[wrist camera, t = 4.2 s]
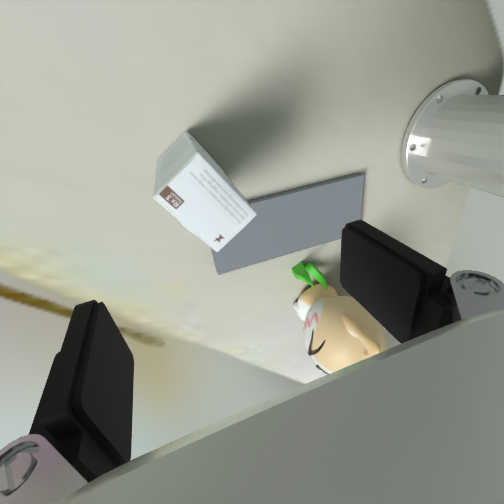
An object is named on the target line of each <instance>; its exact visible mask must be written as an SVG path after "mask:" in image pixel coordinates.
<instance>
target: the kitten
mask: <svg viewBox="0 0 504 504" xmlns="http://www.w3.org/2000/svg"><path fill="white" fill-rule="evenodd" d="M292 271H293V274H294V276H295V277H296V278H297V279H301V280H303V281H305V282H306V283H308V284H309V285H311V286H312V287H310V288H309V289H307V290H306V291H304V292H303V293H302V294H301V295H300V297H299V299H298V302H295V303H294V304H293V307H294V309H295V310H296V312H297V315H298V316H299V317H300V318H301V319H302V320H303V321H305V322H304V329H303V336H304V342H305V346H306V348H307V351H308V354H309V355H310V356H311V357H312V359H313V360H314V361H315V362H316V363H317V364H318V365H316V367H317V368H318V369H320V370H322V371H323V372H324V373H326V374H331V373H333V372H335V371H338V370H340V369H343V368H345V367H347V366H350V365H352V364H354V363H357V362H359V361H361V360H364V359H366V358H369V357H371V356H373V355H376V354H378V353H381V352H383V351H385V350H388V342H387V336H386V333H385V330H384V327H383V326H382V325H381V324H380V323H379V322H378V321H377V320H376V319H375V318H374V317H373V316H372V315H371V314H370V313H369V312H368V311H367V310H366V309H365V308H364V307H363V306H362V305H360V304H359V303H358V302H357V301H356V300H355V299H354V298H353V297H349V296H338V294H337V292H336V290H335V289H334V288H333V287H331V286H330V285H327V281H326V278H325V277H324V275H323V274H322V273H321V272H320V271H319V270H318V269H317V267H316V266H315V265H313V264H312V263H309V262H308V263H307V264H306V265H305V267H304V266H303V263H302V261H301V262H300V263H299V264H298V265H297V266H295V267H294V268H292ZM308 273H309V274H310V275H311V276H313V277H314V278H315V279H316V280H317V281H318V282H319V283H320V284H316V285H313V283H312V281H311V278H310V276H309V274H308Z"/></svg>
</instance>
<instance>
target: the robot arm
mask: <svg viewBox="0 0 504 504" xmlns="http://www.w3.org/2000/svg"><path fill="white" fill-rule="evenodd" d="M401 160H402V166H403V169H404V172H405V175H406V176H407V177H408V179H409V180H410V181H411V182H413V183H414V184H416V185H419V186H422V187H426V188H435V187H439V186H442V185H444V184H446V183H448V182H453V183H456V184H459V185H463V186H466V187H470V188H473V189H477V190H480V191H484V192H487V193H490V194H494V195H497V196H500V197H504V95H489V94H488V91H487V90H486V88H485V87H484V86H483V85H482V84H481V83H479V82H478V81H475V80H471V79H464V80H455V81H451V82H449V83H446V84H444V85H442V86H441V87H439V88H438V89H436V90H435V91H434V92H432V93H431V94H430V95H429V96H428V97H427V98H426V99H425V100H424V102H423V103H422V104H421V105H420V107H419V108H418V109H417V111H416V112H415V114H414V116H413V117H412V119H411V121H410V123H409V126H408V128H407V130H406V133H405V136H404V140H403V145H402V158H401ZM446 271H447V269H446V268H445V267H443V266H441V265H439V264H438V263H436V262H434V261H432V260H431V259H429V258H427V257H425V256H424V255H422V254H420V253H418V252H417V251H415V250H413V249H411V248H410V247H408V246H406V245H404V244H403V243H401V242H399V241H397V240H396V239H394V238H392V237H390V236H389V235H387V234H385V233H383V232H382V231H380V230H378V229H376V228H375V227H373V226H371V225H369V224H368V223H366V222H364V221H363V220H356V221H353V222H350V223H347V224H346V225H345V228H343V229H342V240H341V267H340V282H341V285H342V287H343V288H344V289H345V290H346V291H347V292H348V293H349V294H350V295H351V296H352V297H353V298H354V299H355V300H356V301H357V302H358V303H359V304H360V305H362V306H363V307H364V308H365V309H366V310H367V311H368V312H369V313H370V314H371V315H372V316H373V317H374V318H375V319H376V320H377V321H378V322H379V323H380V324H381V325H382V326H383V327H384V328H385V329H386V330H388V331H389V332H390V333H391V334H392V335H393V336H394V337H395V338H396V339H397V340H398V341H399V342H400V343H402V344H400V345H397V346H395V347H393V348H390V349H388V350H385V351H383V352H381V353H378V354H376V355H373V356H371V357H369V358H366V359H364V360H361V361H359V362H357V363H354V364H352V365H350V366H347V367H345V368H343V369H340V370H338V371H335V372H333V373H331V374H328V375H326V376H324V377H321V378H319V379H317V380H314V381H312V382H310V383H307V384H305V385H302V386H300V387H298V388H295V389H293V390H291V391H288V392H286V393H284V394H281V395H279V396H277V397H275V398H272V399H270V400H267V401H265V402H263V403H260V404H258V405H256V406H253V407H251V408H249V409H246V410H244V411H242V412H240V413H237V414H235V415H233V416H230V417H228V418H226V419H223V420H221V421H219V422H216V423H214V424H212V425H209V426H207V427H205V428H203V429H201V430H198V431H195V432H193V433H191V434H189V435H186V436H184V437H182V438H180V439H177V440H175V441H173V442H171V443H169V444H166V445H164V446H162V447H160V448H158V449H155V450H153V451H151V452H149V453H146V454H144V455H142V456H140V457H138V458H135V459H133V460H131V461H130V459H131V437H132V408H133V407H132V406H133V377H134V376H133V375H134V359H133V355H132V353H131V351H130V349H129V347H128V345H127V344H126V342H125V340H124V338H123V336H122V335H121V333H120V331H119V329H118V327H117V326H116V324H115V322H114V320H113V319H112V317H111V315H110V313H109V311H108V310H107V308H106V306H105V304H104V303H103V302H100V303H98V302H97V301H96V300H92V301H89V302H85V303H82V304H79V305H76V306H75V308H74V310H73V314H72V317H71V320H70V323H69V326H68V329H67V332H66V335H65V338H64V342H63V345H62V348H61V351H60V352H59V353H57V354H56V356H55V358H54V361H53V364H52V367H51V370H50V373H49V376H48V379H47V382H46V385H45V388H44V391H43V394H42V397H41V400H40V403H39V406H38V409H37V412H36V415H35V417H34V420H33V424H32V426H31V429H30V432H29V435H26V436H23V437H20V438H19V439H17V440H15V441H13V442H11V443H9V444H8V445H7V446H5V447H4V448H3V449H1V450H0V504H504V284H503V283H502V282H501V281H500V280H498V279H497V278H495V277H493V276H491V275H489V274H486V273H482V272H478V271H472V270H463V271H457V272H455V273H453V274H452V275H451V277H450V278H449V277H447V276H446V275H445V274H446Z"/></svg>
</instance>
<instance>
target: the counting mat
mask: <svg viewBox="0 0 504 504" xmlns="http://www.w3.org/2000/svg"><path fill="white" fill-rule="evenodd" d="M363 185H364V175H363V174H360V173H357V174H353V175H349V176H345V177H341V178H337V179H333V180H329V181H326V182H322V183H318V184H314V185H310V186H306V187H302V188H298V189H294V190H290V191H286V192H282V193H278V194H274V195H270V196H266V197H262V198H258V199H254V200H250V201H247V202H248V203H249V204H250V206H251V207H252V208H253V209H254V210H255V211H256V212H257V215H256V216H255V217H254V218H253V219H252V220H251V221H250V222H249V223H248V224H247V225H246V226H245V227H244V228H243V229H242V230H241V231H240V232H239V233H238V234H237V235H236V236H234V237H233V238H232V239H231V240H230V241H229V242H228V243H227V244H226V245H225V246H224V247H223V248H222V249H221V250H220V251H218V252H216V251H215V250H213V249H212V248H211V250H212V254H213V258H214V262H215V266H216V270H217V273H218V275H220V274H223V273H226V272H230V271H233V270H236V269H240V268H243V267H246V266H250V265H253V264H257V263H260V262H263V261H267V260H270V259H273V258H277V257H280V256H283V255H287V254H290V253H294V252H297V251H300V250H304V249H307V248H310V247H314V246H317V245H320V244H324V243H327V242H331V241H334V240H337V239H341V238H342V229H343V228H345V225H346V224H347V223H350V222H353V221H356V220H361V213H362V199H363Z"/></svg>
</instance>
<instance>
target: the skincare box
mask: <svg viewBox="0 0 504 504" xmlns="http://www.w3.org/2000/svg"><path fill="white" fill-rule="evenodd" d="M153 198H154V199H155V200H156V201H157V202H158V203H160V204H161V205H162V206H163V207H164V208H165V209H167V210H168V211H169V212H170V213H171V214H172V215H174V216H175V217H176V218H177V219H178V220H179V221H180V222H181V223H182V224H183V226H184V227H186V228H187V229H188V230H189V231H190V232H192V233H193V234H195V235H197V236H198V237H199V238H200V239H201V240H203V241H204V242H205V243H206V244H207V245H209V246H210V247H211V248H212V249H213V250H215V251H216V252H218V251H220V250H221V249H222V248H223V247H224V246H225V245H226V244H227V243H228V242H229V241H230V240H231V239H232V238H233V237H234V236H236V235H237V234H238V233H239V232H240V231H241V230H242V229H243V228H244V227H245V226H246V225H247V224H248V223H249V222H250V221H251V220H252V219H253V218H254V217H255V216H256V215H257V212H256V211H255V210H254V209H253V208H252V207H251V206H250V204H249V203H248V202H247V200H246V199H245V198H244V197H243V195H242V194H241V193H240V192H239V190H238V189H237V188H236V187H235V185H234V184H233V183H232V182H231V180H230V179H229V178H228V177H227V175H226V174H225V173H224V172H223V170H222V169H221V168H220V167H219V165H218V164H217V163H216V162H215V161H214V159H213V158H212V157H211V156H210V155H209V154H208V153H207V152H206V150H205V149H204V148H203V147H202V146H201V145H200V144H199V143H198V142H197V141H196V140H195V139H194V138H193V137H192V136H191V135H190V134H189V133H188V132H187V131H185V132H184V133H183V134H182V135H181V136H180V137H179V138H178V139H177V140H176V141H175V142H174V143H173V144H172V145H171V146H170V147H169V148H168V149H167V150H166V151H165V152H164V153H163V154H162V155H161V156H160V157H159V158H157V161H156V173H155V185H154V194H153Z"/></svg>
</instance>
